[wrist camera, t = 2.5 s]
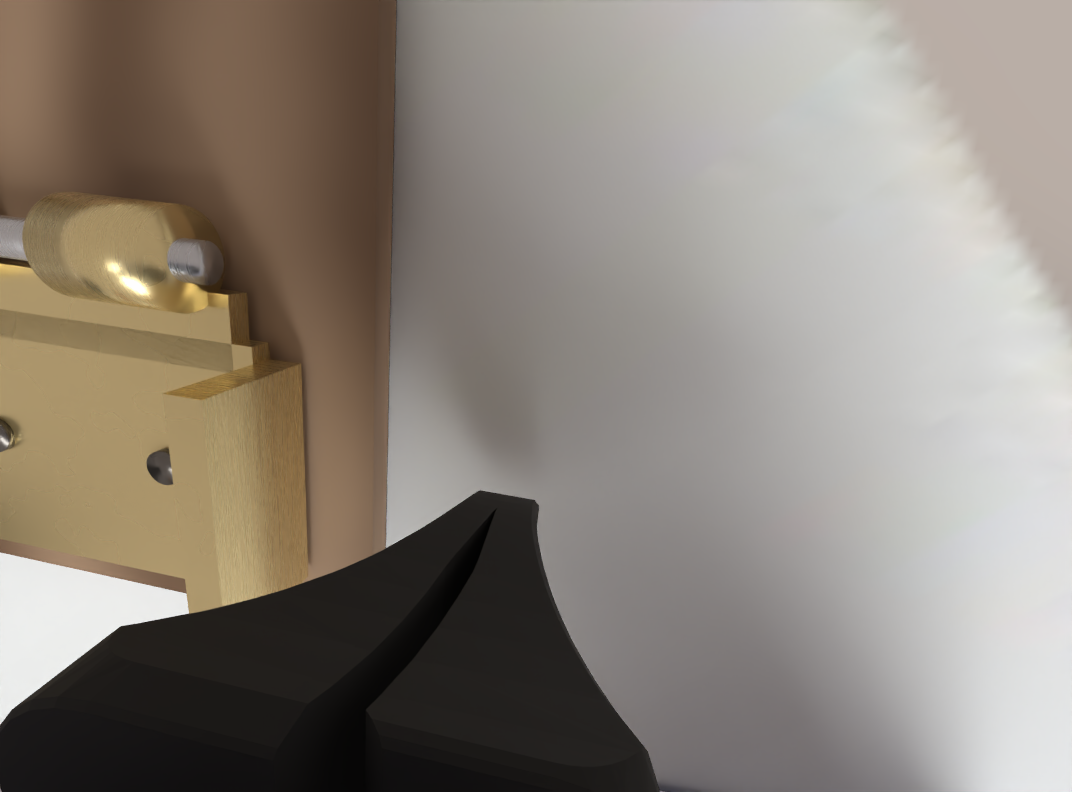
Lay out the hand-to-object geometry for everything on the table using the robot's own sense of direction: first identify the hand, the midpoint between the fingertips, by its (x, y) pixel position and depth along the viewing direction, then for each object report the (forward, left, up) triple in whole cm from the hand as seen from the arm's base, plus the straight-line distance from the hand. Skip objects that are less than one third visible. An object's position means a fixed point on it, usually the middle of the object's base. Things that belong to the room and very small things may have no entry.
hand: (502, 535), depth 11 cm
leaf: (+13, -1, -1) cm, 13 cm away
